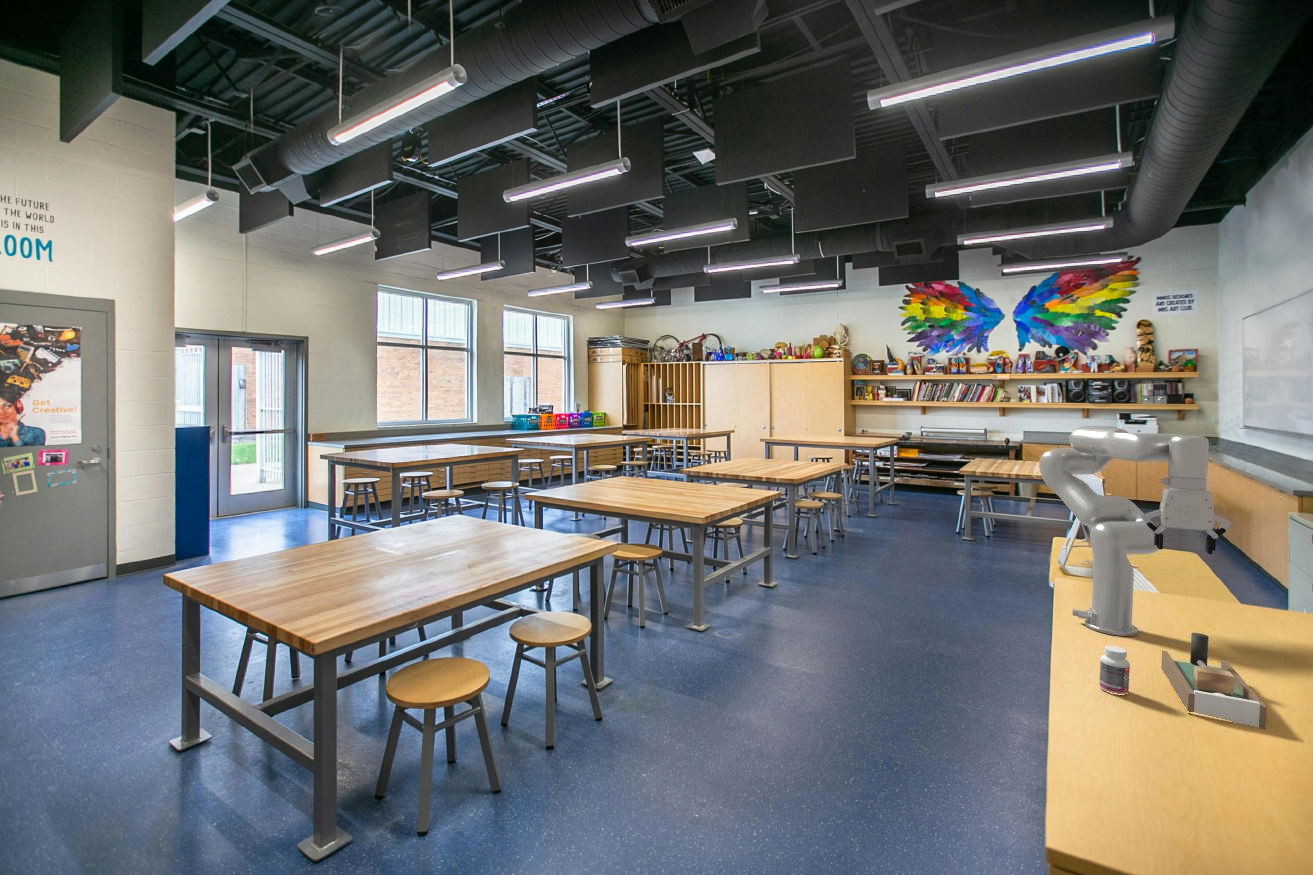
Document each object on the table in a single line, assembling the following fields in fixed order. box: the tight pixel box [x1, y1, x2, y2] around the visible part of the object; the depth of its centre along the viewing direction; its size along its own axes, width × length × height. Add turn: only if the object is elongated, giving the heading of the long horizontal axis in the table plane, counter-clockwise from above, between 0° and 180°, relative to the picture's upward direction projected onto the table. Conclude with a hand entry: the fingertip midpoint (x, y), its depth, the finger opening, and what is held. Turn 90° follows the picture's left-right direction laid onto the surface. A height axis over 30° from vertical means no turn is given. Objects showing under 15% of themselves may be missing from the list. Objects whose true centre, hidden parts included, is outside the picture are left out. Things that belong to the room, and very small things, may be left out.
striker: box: [1189, 632, 1234, 695], centre depth 138 cm, size 6×15×8 cm, turn 150°
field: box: [1160, 650, 1268, 730], centre depth 136 cm, size 12×26×5 cm, turn 150°
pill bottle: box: [1098, 645, 1131, 694], centre depth 138 cm, size 5×5×10 cm
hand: (1183, 550), depth 154 cm, fingers open, 9 cm apart
